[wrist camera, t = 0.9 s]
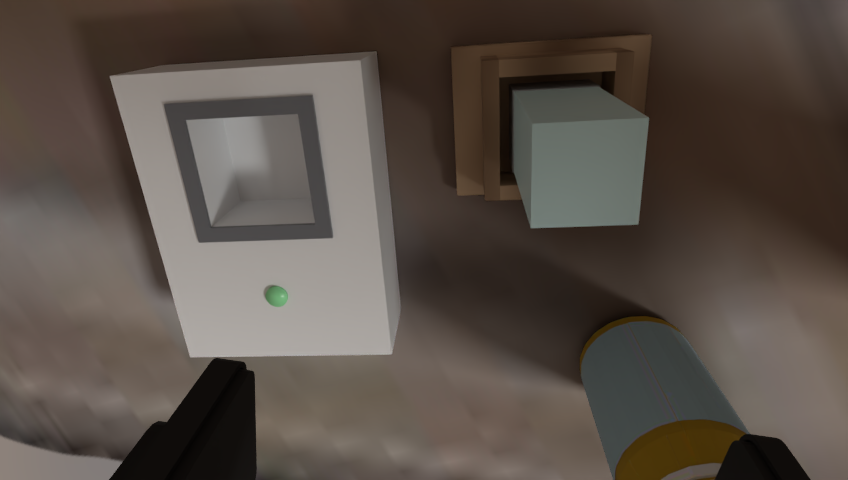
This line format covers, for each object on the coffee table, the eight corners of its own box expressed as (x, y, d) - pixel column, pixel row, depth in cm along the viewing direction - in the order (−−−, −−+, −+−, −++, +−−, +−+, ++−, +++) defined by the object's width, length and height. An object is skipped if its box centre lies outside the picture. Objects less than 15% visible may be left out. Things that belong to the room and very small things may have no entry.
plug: (589, 79, 28) (650, 116, 19) (584, 156, 29) (639, 225, 20) (508, 83, 28) (530, 122, 19) (509, 160, 30) (529, 229, 21)
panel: (376, 51, 29) (359, 60, 24) (401, 308, 35) (391, 356, 30) (163, 64, 30) (106, 76, 25) (224, 312, 36) (188, 359, 32)
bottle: (563, 331, 35) (627, 541, 21) (671, 296, 34) (815, 498, 20) (595, 409, 37) (671, 644, 24) (697, 380, 36) (842, 613, 22)
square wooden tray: (645, 33, 28) (669, 37, 24) (632, 182, 31) (651, 203, 28) (451, 46, 28) (449, 51, 25) (457, 190, 32) (456, 211, 28)
